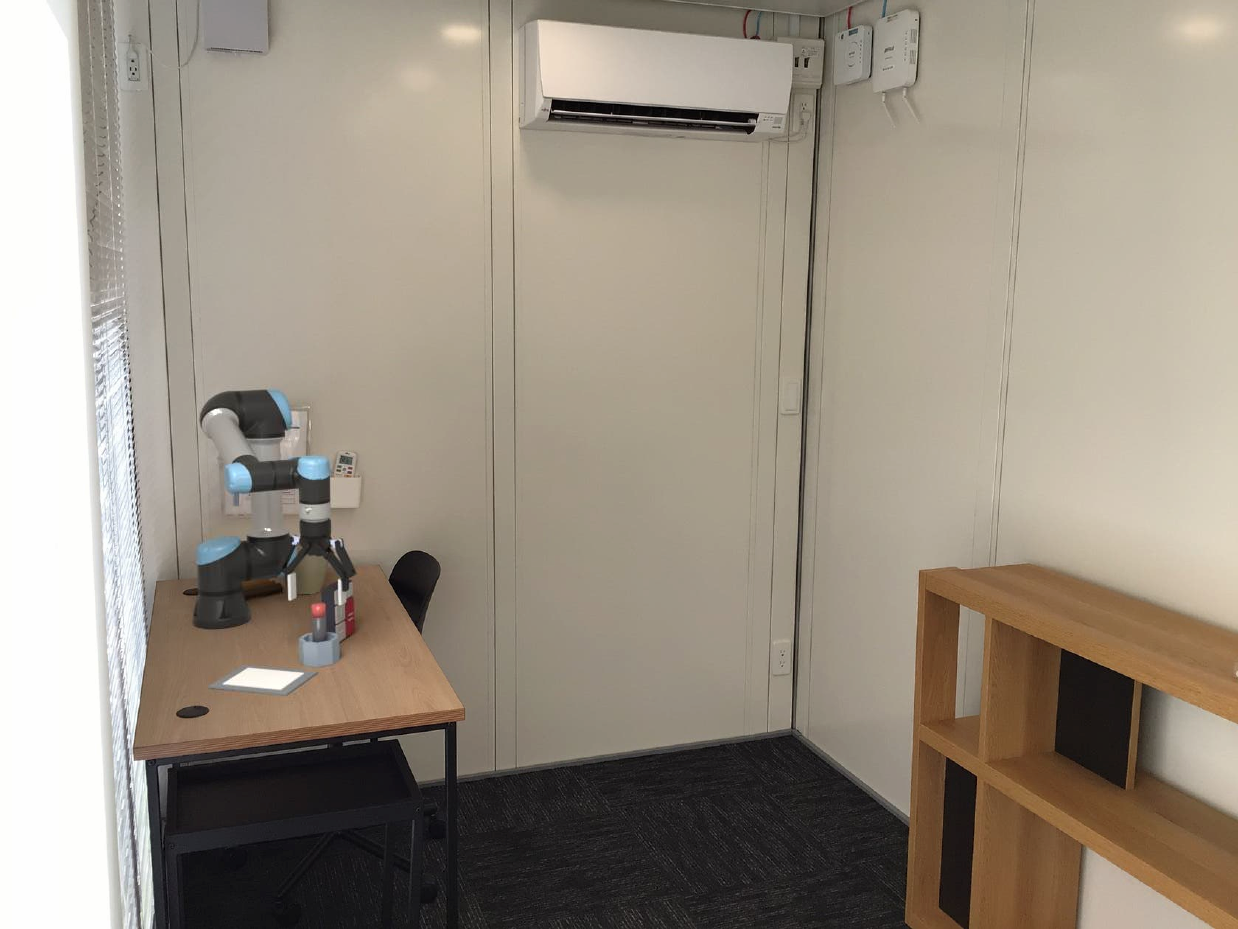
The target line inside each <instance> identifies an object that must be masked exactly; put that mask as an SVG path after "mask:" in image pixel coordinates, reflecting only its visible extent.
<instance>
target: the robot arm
mask: <svg viewBox="0 0 1238 929" xmlns="http://www.w3.org/2000/svg"><path fill="white" fill-rule="evenodd" d="M289 403H290V402H289V401H288V398H287V396H286V395H285V393H284V392H283V391H281V390H280V389H267V388H265V389H250V390H226V391H223V392H218V393H217V394H215V395H214V396H212V397H211V398H209V399H208V400H207V401H206V402H205V403H204V405H203V407H202V408H201V411H200V413H199V419H198V420H199V426H200V428H201V430H202V432H203V434H204V435H205V436H206V437H207V438H208V439H210V440H211V441H212V442H213V444H214V446H215V447H216V449H217V452H218V453H219V455H220V457H221V458H222V460H223V462H224V463H225V467H224V471H223V479H224V480H223V481H224V485H225V488H226V491H227V492H228V493H230V494H233V495H234V494H235V495H238V494H241V495H247V494H250V511H251V514H250V515H251V516H250V517H251V528H250V529H249V530H248V531H247V532H246V539H245V540H241V538H240V537H239V536H235V535H229V536H226V535H224V536H219V537H214V538H211V539H207V540H205V541H203V542H202V543H200V544H199V545H198V546H197V548H196V554H195V564H196V576H197V577H196V578H197V599H196V603H195V606H194V610H193V612H192V613H193V614H192V625H194V626H195V625H196V626H195V627H197V626H198V627H197V628H201V627H202V629H224V628H225V629H227V628H231V627H236V626H239V625H243V624H245V623H247V622H249V620H250V619H251V614H250V613H251V611H250V608H249V606H248V603H247V600H245V598H244V595H243V592H242V582H247V581H255V580H263V579H269V580H271V579H274V580H276V579H278V578H282V577H284V586H285V587H287V596H288V597H287V598H288V599H287V600H288V601H293V600H295V599H297V593H296V573H294V572H293V571H294V569H295V568H296V566H297V565H298V564H299V563H300V562H301V560H302V559H303V558H304V557H305V556H306V555H307V554H308V556H313V555H315V556H323V557H324V558H325V559H326V560H327V561H328V562H329V563H328V564H330V566H331V568H333V570H334V571H335V572H336V574H337V575H338V576H339V579H337V581H338V603H339V605H343V604H344V603H346V591H348V590H349V580H350V579H351V578H352V577H354V576H356V575H357V571H356V569H355V567H354V565H353V563H352V560H351V558H350V555H349V554H348V552H347V549H346V548H345V541H344V539H343V538H342V537H340V538H338V539H332V536H331V535H332V520H331V517H332V509H331V473H332V472H331V471H332V470H331V466H330V460H329V458H328V457H327V456H324V455H322V456H321V455H317V454H316V455H315V454H314V455H304V456H291V457H289V458H288V459H282V458H281V442H283V440H285V438H286V431H290V430H291V429H292V427H293V426H292V425H293V424H292V423H293V417H292V416H293V415H292V411H291V406H290V404H289ZM285 490H298V511H299V512H298V513H299V515H298V516H299V518H300V520H299V534H300V536H298V535H297V534H293V535H291V534H290V530H289V529H288V528H287V527H286V526H285V524H284V510H283V509H284V507H283V506H284V505H283V504H284V502H283V491H285ZM298 543H300V545H301V546H302V549H301V550H300V551H299V553H298V554H297V546H296V545H297V544H298ZM332 546H333V549H334V550H335V552H336V554H337V556H336V554H335V552H334V550H333V549H332ZM330 547H331V548H330ZM327 552H328V553H327ZM292 572H293V573H292Z"/></svg>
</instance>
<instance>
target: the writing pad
mask: <svg viewBox="0 0 1238 929" xmlns="http://www.w3.org/2000/svg"><path fill="white" fill-rule="evenodd" d="M318 674H319V671H312V670H303V669H293V668H281V667H272V666H270V667H269V666H262V665H250V664H249V665H248V664H242V665H241V666H239V667H238V668H236V669H235V670H233V671H231V672H230V673H228V674H227V675H225V676H223V677H221V678H219V679H218V680H216V681H215V682H213V683H211V684H210V685H208V686H207V688H208V689H212V688H215V689H214V690H222V689H224V690H225V691H232V690H234V692H244V693H253V692H254V693H256V694H265V695H274V696H275V695H276V696H284V697H287V696H288V695H291V693H293V692H294V691H296V690H297V689H298V688H300V687H301V686H302V685H304V684H305V683H307V682H308V681H309V680H311V679H312V678H313V677H315V676H316V675H318Z"/></svg>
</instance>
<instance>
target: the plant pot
mask: <svg viewBox="0 0 1238 929" xmlns="http://www.w3.org/2000/svg"><path fill="white" fill-rule="evenodd" d="M296 546H297V554H298V553H299V551H300V550H301V549H302V546H301V545H300V543H298V544H297V545H296ZM330 548H331V549H332V546H331V547H330ZM327 553H328V552H327ZM329 564H330V563H329V562H328V561H327V560H326V559H325V558H324V557H323V556H315V555H313V556H308V554H307V555H306V556H305V557H304V558H303V559H302V560H301V562H300V563H299V564H298V565H297V566H296V568H295V569H294V571H293V572H294V573H296V595H301V594H310V595H315V593H316V594H318V593H320V592H321V590H322V587H323V583H324V581H325V578H326V575H327V571H328V567H329ZM293 572H292V573H293ZM319 591H320V592H319ZM317 592H318V593H317Z"/></svg>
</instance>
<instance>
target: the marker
mask: <svg viewBox="0 0 1238 929" xmlns="http://www.w3.org/2000/svg"><path fill="white" fill-rule="evenodd" d="M310 606H311V609H310V610H311V631H312V632H311V633H312V639H313V642H317V643H318V642H324V641H327V637H326V605H325V603H322V602H314V603H311V605H310Z"/></svg>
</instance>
